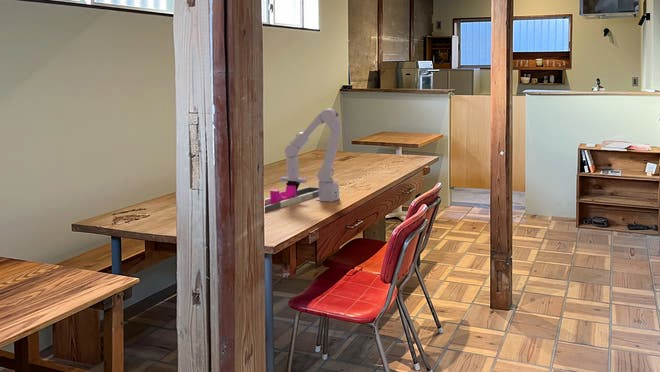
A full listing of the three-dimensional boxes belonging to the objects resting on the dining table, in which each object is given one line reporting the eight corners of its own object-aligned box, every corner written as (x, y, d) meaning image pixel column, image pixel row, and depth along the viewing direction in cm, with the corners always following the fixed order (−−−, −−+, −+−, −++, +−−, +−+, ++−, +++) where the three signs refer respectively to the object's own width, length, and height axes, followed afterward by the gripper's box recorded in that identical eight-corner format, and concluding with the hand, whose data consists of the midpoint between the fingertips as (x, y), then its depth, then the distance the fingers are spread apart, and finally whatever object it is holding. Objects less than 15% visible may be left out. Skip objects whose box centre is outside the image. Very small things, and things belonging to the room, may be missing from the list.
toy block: (286, 200, 341) (285, 184, 340) (296, 201, 338) (295, 185, 336) (266, 205, 329) (265, 190, 328) (277, 207, 325) (276, 191, 324)
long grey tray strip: (328, 193, 355) (327, 188, 355) (264, 212, 314) (264, 207, 314) (308, 191, 362) (308, 186, 362) (244, 209, 321) (244, 204, 321)
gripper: (309, 168, 338) (310, 196, 341) (285, 166, 346) (286, 193, 349) (300, 170, 333) (301, 198, 335) (276, 169, 341) (278, 196, 343)
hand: (293, 196), depth 341 cm, fingers closed
